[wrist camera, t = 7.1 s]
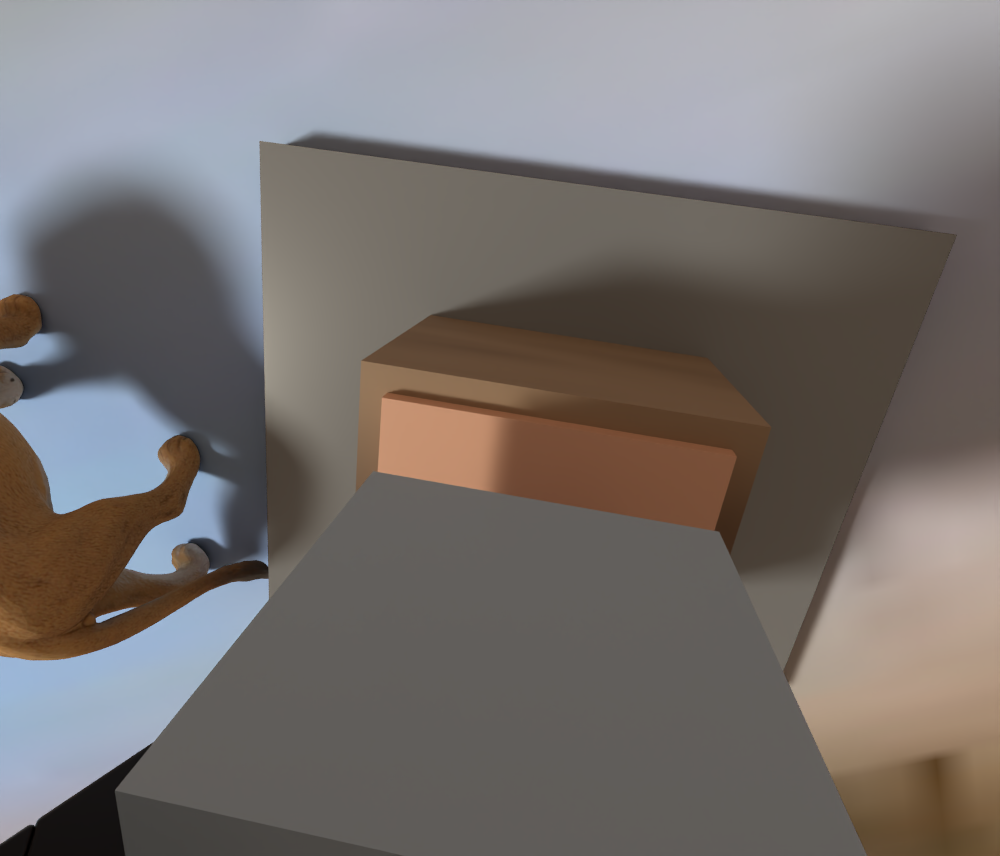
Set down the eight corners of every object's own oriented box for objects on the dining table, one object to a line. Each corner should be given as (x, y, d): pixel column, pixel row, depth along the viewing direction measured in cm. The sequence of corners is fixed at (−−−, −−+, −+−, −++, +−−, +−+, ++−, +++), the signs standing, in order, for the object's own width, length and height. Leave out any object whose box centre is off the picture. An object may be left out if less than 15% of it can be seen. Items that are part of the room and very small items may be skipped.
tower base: (757, 687, 18) (841, 907, 13) (284, 594, 20) (158, 756, 14) (930, 233, 13) (1206, 245, 8) (279, 145, 15) (78, 97, 9)
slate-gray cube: (642, 783, 10) (700, 1300, 5) (359, 724, 10) (173, 1155, 5) (718, 531, 8) (921, 973, 3) (372, 471, 8) (115, 791, 4)
